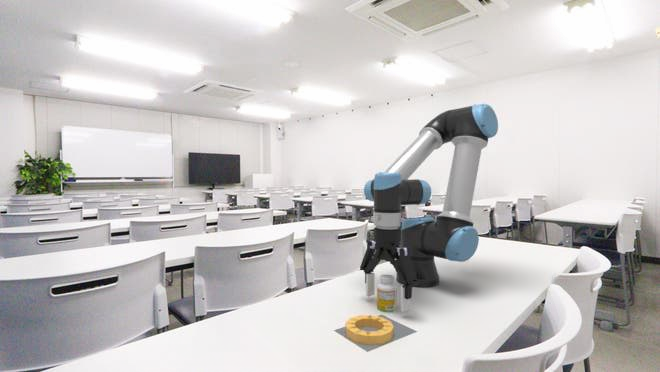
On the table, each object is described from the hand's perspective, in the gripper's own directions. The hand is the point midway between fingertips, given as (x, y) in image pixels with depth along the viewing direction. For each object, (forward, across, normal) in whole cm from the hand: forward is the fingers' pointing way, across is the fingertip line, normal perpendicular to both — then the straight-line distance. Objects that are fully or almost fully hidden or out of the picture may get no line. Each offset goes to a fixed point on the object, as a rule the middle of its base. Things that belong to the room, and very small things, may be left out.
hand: (386, 302), depth 91 cm
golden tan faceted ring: (+2, +8, -14) cm, 16 cm away
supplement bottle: (+2, 0, 0) cm, 3 cm away
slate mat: (+2, +8, -12) cm, 15 cm away
